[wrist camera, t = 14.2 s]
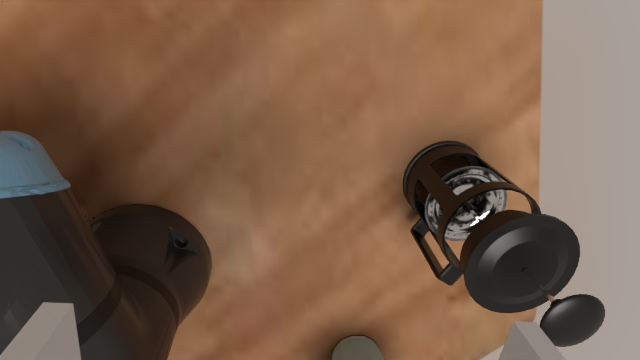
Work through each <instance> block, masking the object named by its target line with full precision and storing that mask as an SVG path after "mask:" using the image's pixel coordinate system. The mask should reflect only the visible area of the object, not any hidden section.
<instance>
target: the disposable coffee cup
mask: <svg viewBox="0 0 640 360" xmlns="http://www.w3.org/2000/svg"><path fill="white" fill-rule="evenodd" d="M332 360H384V358H383V356H382V354H381V352H380V350H379V348H378V347H377V345H376V343H374V342H373V340H371V339H369V338H367V337H365V336H350V337H348V338H345V339H343V340H341V341H340V342H339V343H338V345H337V346H336V347H335V348H334V351H333V355H332Z"/></svg>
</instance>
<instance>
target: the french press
mask: <svg viewBox="0 0 640 360" xmlns="http://www.w3.org/2000/svg"><path fill="white" fill-rule="evenodd" d="M451 155H460V156H462V157H464V158H465V159H466V160H468V162H469V163H470V165H471V166H464V167H460V168H456V169H453V170H451V171H449V172H447V173H445V174H444V175H442V176H441V177H439V176H438V175H437V173H436V172H435V171H434V170H433V169H432V168H431V167H430V166H431V165H432V164H434V163H435V162H437V161H438V160H440V159H442V158H445V157H448V156H451ZM500 177H501V178H502V179H503V180H505V181H506V182H507V183H506V182H503V181H502V179H501V178H500ZM419 180H420V181H421V182H422V184H423V185H424V186H425V188H426V189H427V190H428V191H429V192H428V194H427V197H426V202H425V204H424V203H423V202H422V201H421V200H420V199H419V198H418V196H417V194H416V186H417V184H418V181H419ZM506 190H512V191H516V192H519V193H521V194H523V195H525V197H526V198H527V200H528V201H529V204H530V207H531V211H532V214H530V213H527V212H523V211H516V210H506V211H504V209H505V206H506V201H507V192H506ZM403 191H404V195H405V197H406V199H407V202H408V203H409V204H410V206H411V207H412V208H413V209H414V210H416V212H417V213H418V215H419V216H420V217H421V218H420V219H419V220H418V221H417V223H416V224H415V225H414V226H413V227H412V229H411V233H412V235H413V237H414V239H415V241H416V242H417V244H418V246H419V248H420V249H421V251H422V253H423V255H424V257H425V258H426V260H427V262H428V264H429V265H430V267H431V269H432V271H433V273H434V274H435V276H436V277H437V278H438V279H439V280H441V281H443V282H444V283H446V284H448V285H453V284H454V283H455V282H456V281H457V280H458V279H459V278H460V276H461V275H462V274H464V281H465V286H466V288H467V290H468V292H469V294H470V296H471V297H472V298H473V299H474V300H475V302H476V303H478V304H479V305H481V306H482V307H484V308H486V309H488V310H491V311H495V312H499V313H515V312H522V311H526V310H529V309H532V308H535V307H537V306H539V305H541V304H543V303H545V302H547V301H548V300H550V302H551V305H550V308H549V309H548V310H547V311H546V312H545V314H544V316H543V317H542V320H541V322H540V328H541V329H542V331H543V332H544V333H545V334H546V336H547V337H548V338H549V339H550V341H551V342H552V343H553V344H554V346H558V347H566V346H572V345H575V344H578V343H581V342H583V341H585V340H586V339H588V338H589V337H591V336H592V335H593V334H594V333H595V332H596V331H597V330H598V329H599V328H600V326H601V325H602V323H603V321H604V317H605V309H604V306H603V304H602V302H601V301H600V300H599V299H598V298H596V297H594V296H591V295H586V294H585V295H584V294H579V295H572V296H569V297H566V298H564V299H555V298H554V296H555V295H557V294H558V293H559V292H560V291H561V290H562V289H563V288H564V287H565V286H566V285H567V284H568V282H569V281H570V279H571V278H572V276H573V275H574V273H575V270H576V268H577V266H578V262H579V257H580V246H579V242H578V238H577V236H576V235H575V233H574V232H573V230H572V229H571V228H570V227H569V226H568V225H567V224H566V223H564V222H563V221H561V220H559V219H558V218H556V217H553V216H549V215H545V214H541V211H540V208H539V206H538V205H537V203H536V202H535V200H534V199H533V198H532V197H530V196H529V195H528V194H527V193H526V192H524V191H523V190H522V189H520V188H519V187H518V186H516V185H515V184H514V183H513V182H511V181H510V180H509V179H507V178H506V177H505V176H504V175H502V174H501V173H500V172H498V171H497V170H496V169H494V168H493V167H492V166H491V165H489V164H488V163H487V162H485V161H484V160H483V159H481V158H480V157H479V155H478V154H477V153H476V152H475V151H474V150H473V149H472V148H471V147H469V146H467V145H465V144H463V143H459V142H453V141H445V142H439V143H436V144H432V145H430V146H428V147H426V148H425V149H423V150H422V151H420V152H419V153H418V154H417V155H416V156H415V157H414V158H413V159H412V160H411V162H410V164H409V165H408V167H407V169H406V171H405V174H404V179H403ZM428 231H430V232H431V234H432V235H433V237H434V238H435V240H436V242H437V243H438V245H439V246H440V248H441V250H442V252H443V254H444V255H445V257H446V258H447V260H448V261H449V262H450V263H449V264H448V265H447V266H446V267H445V268H444V269H443V268H442V266H441V265H440V263H439V262H438V260H437V258H436V257H435V255H434V253H433V252H432V250H431V248H430V247H429V245H428V243H427V242H426V240H425V238H424V236H425V235H426V233H427V232H428ZM445 239H447V240H451V241H465V242H464V244H463V247H462V250H461V254H460V261H459V260H458V258H457V257H456V256H455V254H454V253H453V251H452V250H451V248H450V247H449V245H448V244H447V242H446V241H445Z"/></svg>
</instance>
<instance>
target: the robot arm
mask: <svg viewBox="0 0 640 360" xmlns="http://www.w3.org/2000/svg"><path fill="white" fill-rule="evenodd" d="M69 187H71V185H70V183H69V181H68V180H67V179H64V178H63V176H62V175H61V173H60V172H59V170H58V169H57V167H56V166H55V164H54V163H53V161H52V160H51V158H50V156H49V155H48V153H47V152H46V150H45V149H44V147H43V146H42V144H41V143H40V142H39V141H38V140H36V139H35V138H33V137H32V136H30V135H28V134H25V133H22V132H18V131H0V360H167V358H168V355H169V352H170V349H171V346H172V343H173V340H174V336H175V333H176V330H177V327H178V326H179V325H180V324H181V322H182V321H183V320H184V319H185V318H186V317H187V316H188V315H189V313H190V312H191V311H192V310H193V309H194V308H195V306H196V305H197V304H198V303H199V302H200V300H201V299H202V297H203V295H204V293H205V291H206V288H207V285H208V282H209V278H210V274H211V267H212V263H211V255H210V252H209V249H208V246H207V244H206V242H205V240H204V239H203V237H202V236H201V234H200V233H199V232H198V231H197V230H196V229H195V228H194V227H193V226H192V225H191V224H190V223H189V222H187V221H186V220H185V219H183V218H181V217H180V216H178V215H176V214H174V213H172V212H170V211H167V210H165V209H161V208H158V207H154V206H148V205H126V206H120V207H116V208H113V209H110V210H107V211H105V212H103V213H101V214H100V215H98V216H97V217H95V218H94V219H93V220H92V221H90V222H89V223H88V221H87V220H86V218H85V216H84V214H83V212H82V211H81V209H80V207H79V205H78V203H77V201H76V199H75V197H74V196H73V194H72V192H71V190H70V188H69ZM499 360H566V359H565V358H564V357H563V356H562V355H561V353H560V352H559V351H558V349H557V348H556V347H555V346H554V344H553V343H552V342H551V341H550V339H549V338H548V337H547V336H546V334H545V333H544V332H543V331H542V329H541V328H540V327H539V325H538V324H537V323H536V322H514V323H513V325H512V328H511V330H510V333H509V335H508V338H507V340H506V343H505V345H504V348H503V350H502V353H501V355H500V358H499Z"/></svg>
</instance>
